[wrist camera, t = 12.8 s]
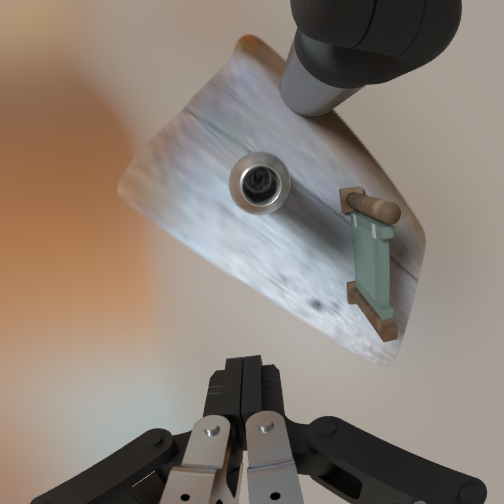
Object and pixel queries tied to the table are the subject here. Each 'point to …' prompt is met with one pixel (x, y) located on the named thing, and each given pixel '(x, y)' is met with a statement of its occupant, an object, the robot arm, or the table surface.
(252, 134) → the table surface
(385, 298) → the gate
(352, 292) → the post
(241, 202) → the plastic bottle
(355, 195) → the hinge post
